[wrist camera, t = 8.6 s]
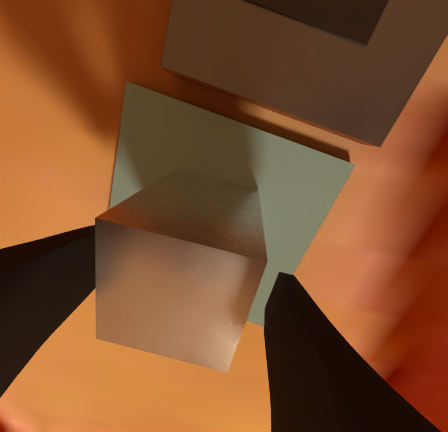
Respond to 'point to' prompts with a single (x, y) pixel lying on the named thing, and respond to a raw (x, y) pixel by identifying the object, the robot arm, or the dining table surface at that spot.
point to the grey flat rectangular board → (310, 56)
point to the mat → (230, 171)
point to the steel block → (180, 268)
